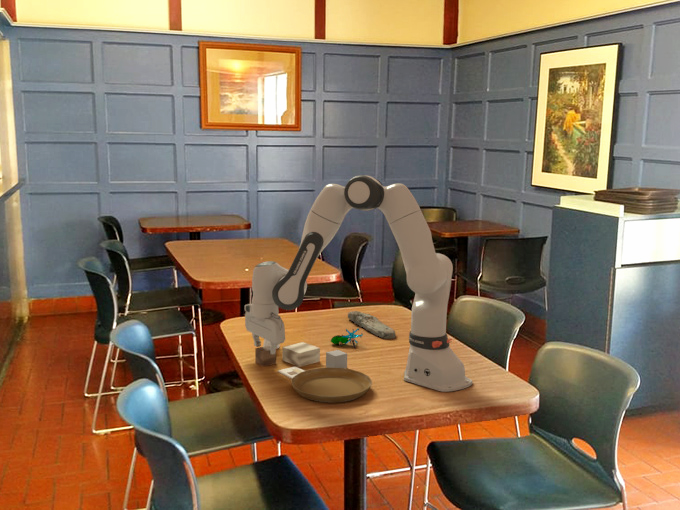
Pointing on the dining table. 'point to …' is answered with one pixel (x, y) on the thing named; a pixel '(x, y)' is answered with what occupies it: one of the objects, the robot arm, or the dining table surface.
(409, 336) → the robot arm
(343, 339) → the stick construction toy
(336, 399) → the plant saucer
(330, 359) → the grey plastic cube
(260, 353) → the walnut cube
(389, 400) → the dining table surface
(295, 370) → the card
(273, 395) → the dining table surface
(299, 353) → the birch base block
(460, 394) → the dining table surface
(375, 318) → the elongated rock
